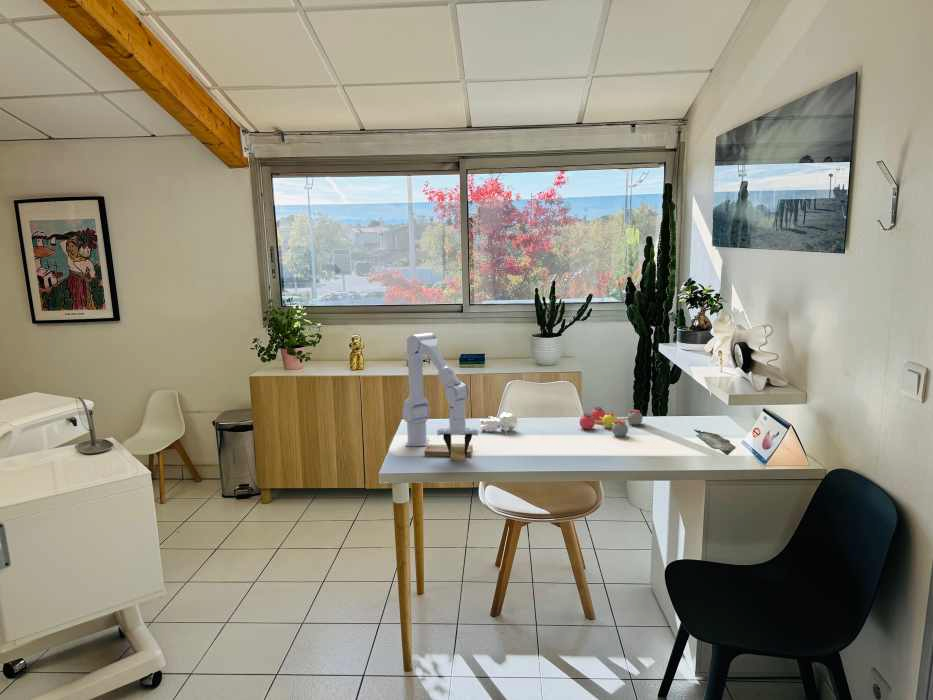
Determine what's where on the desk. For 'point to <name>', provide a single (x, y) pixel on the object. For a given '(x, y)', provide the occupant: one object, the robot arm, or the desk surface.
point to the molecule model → (610, 420)
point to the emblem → (716, 441)
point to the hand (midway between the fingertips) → (458, 454)
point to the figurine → (500, 423)
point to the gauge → (458, 452)
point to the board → (442, 450)
